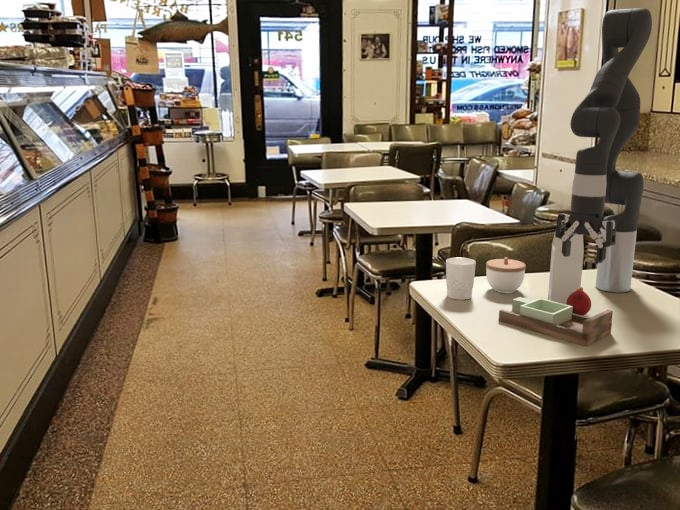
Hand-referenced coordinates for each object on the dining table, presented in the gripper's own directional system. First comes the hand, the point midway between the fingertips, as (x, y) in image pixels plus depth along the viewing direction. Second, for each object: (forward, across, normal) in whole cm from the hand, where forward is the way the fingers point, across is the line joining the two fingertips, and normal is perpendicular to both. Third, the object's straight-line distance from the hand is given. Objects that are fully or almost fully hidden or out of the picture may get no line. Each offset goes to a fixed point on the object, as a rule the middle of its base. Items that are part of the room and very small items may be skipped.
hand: (582, 259), depth 164 cm
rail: (+15, +1, +10) cm, 18 cm away
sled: (+14, +5, +10) cm, 18 cm away
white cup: (+15, +31, +7) cm, 35 cm away
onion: (+15, 0, 0) cm, 15 cm away
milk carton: (+15, +9, -9) cm, 20 cm away
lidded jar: (+15, +26, -7) cm, 31 cm away
